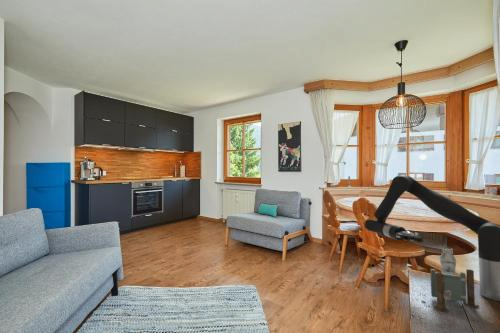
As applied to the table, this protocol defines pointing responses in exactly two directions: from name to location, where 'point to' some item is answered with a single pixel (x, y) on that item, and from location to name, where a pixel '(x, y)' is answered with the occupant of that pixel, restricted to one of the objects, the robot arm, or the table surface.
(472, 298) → the hinge post
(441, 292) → the post
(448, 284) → the gate
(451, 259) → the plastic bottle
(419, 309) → the table surface
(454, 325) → the table surface
